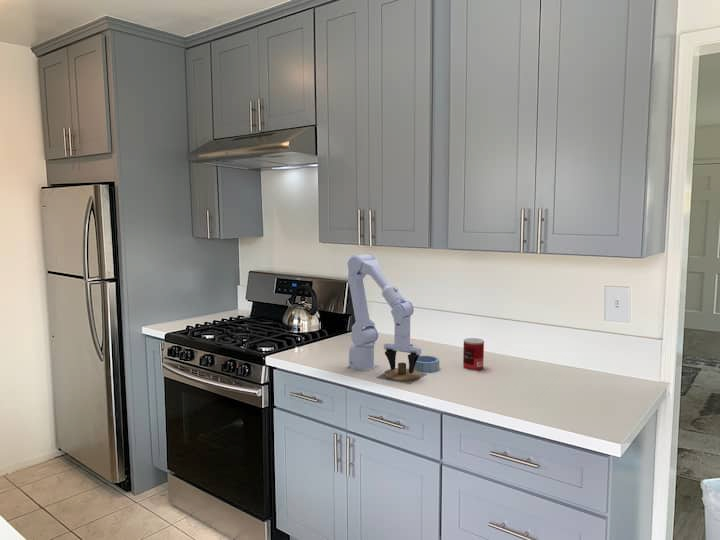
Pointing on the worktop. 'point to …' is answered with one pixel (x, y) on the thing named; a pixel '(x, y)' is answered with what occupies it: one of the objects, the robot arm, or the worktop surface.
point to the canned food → (473, 353)
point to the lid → (401, 373)
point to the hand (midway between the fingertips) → (402, 371)
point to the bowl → (427, 364)
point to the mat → (402, 381)
